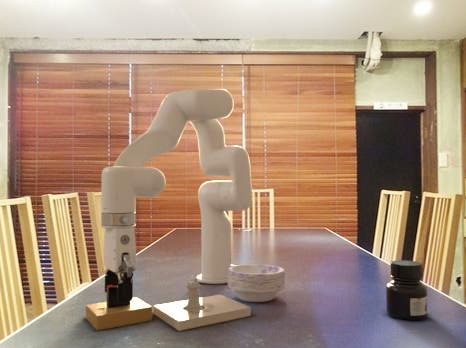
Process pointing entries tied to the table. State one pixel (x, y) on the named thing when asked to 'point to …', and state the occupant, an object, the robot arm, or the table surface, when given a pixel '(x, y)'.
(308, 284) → the table surface
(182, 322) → the white socket plate
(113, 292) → the black battery pack
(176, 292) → the table surface
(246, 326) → the table surface
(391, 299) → the ink bottle
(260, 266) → the paper bowls
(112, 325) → the orange dial base
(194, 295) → the rook chess piece
